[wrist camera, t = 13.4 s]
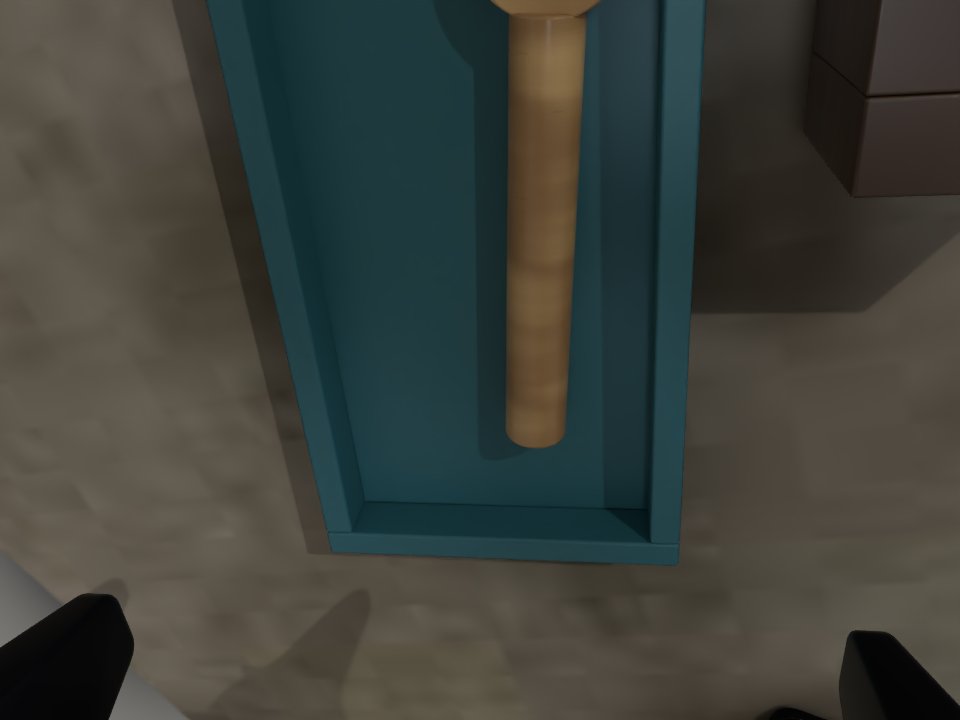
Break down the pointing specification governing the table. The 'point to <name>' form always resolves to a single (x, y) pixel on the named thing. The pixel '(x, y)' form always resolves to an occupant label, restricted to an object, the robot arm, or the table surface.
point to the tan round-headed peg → (542, 210)
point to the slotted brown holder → (887, 95)
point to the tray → (470, 270)
